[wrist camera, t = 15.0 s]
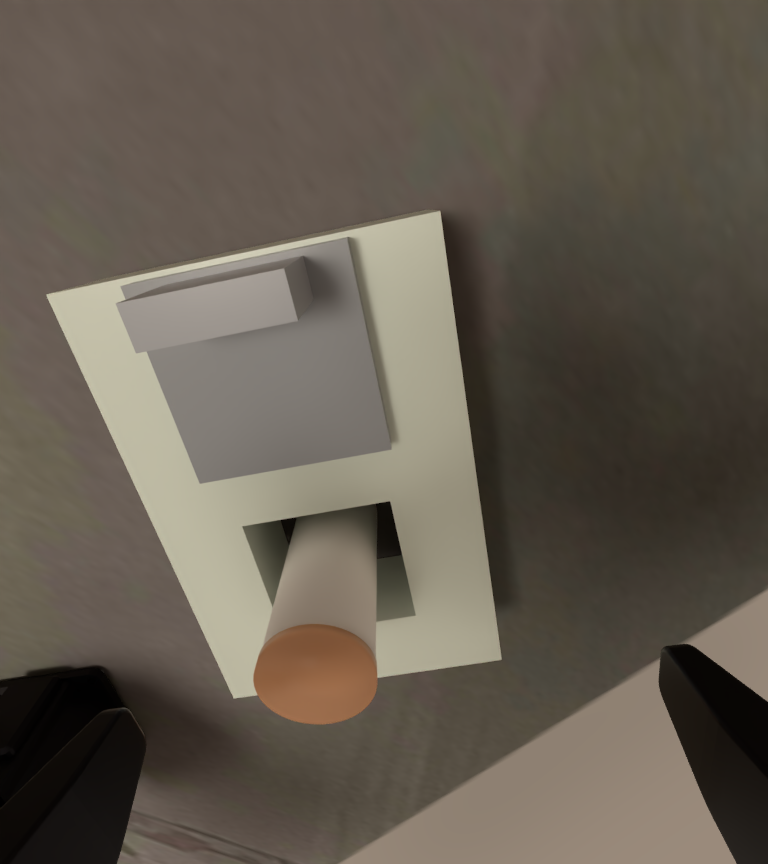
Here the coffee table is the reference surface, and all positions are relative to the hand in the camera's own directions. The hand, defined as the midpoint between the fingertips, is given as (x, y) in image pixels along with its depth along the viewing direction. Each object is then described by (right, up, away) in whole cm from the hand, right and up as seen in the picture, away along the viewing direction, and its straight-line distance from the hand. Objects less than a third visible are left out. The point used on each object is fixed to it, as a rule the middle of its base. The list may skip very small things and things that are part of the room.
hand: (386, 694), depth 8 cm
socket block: (-3, +3, +14) cm, 14 cm away
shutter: (-4, +6, +8) cm, 11 cm away
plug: (-2, +1, +15) cm, 15 cm away
